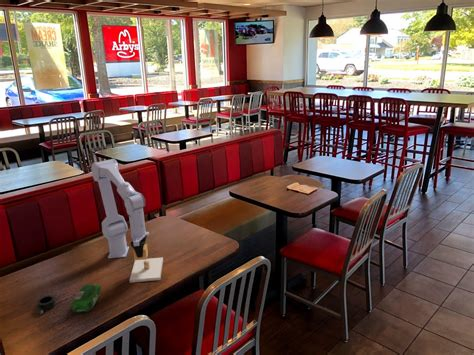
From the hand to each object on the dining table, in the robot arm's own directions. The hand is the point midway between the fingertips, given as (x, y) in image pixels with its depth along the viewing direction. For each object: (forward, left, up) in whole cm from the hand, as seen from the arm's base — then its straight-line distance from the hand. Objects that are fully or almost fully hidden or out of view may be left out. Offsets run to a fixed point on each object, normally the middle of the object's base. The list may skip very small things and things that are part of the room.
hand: (141, 253), depth 158 cm
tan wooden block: (0, 0, -1) cm, 1 cm away
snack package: (+19, -18, -9) cm, 28 cm away
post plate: (-1, +2, -8) cm, 9 cm away
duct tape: (+18, -32, -9) cm, 38 cm away
